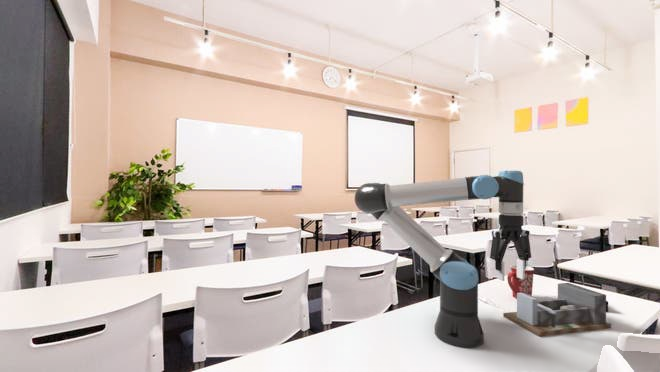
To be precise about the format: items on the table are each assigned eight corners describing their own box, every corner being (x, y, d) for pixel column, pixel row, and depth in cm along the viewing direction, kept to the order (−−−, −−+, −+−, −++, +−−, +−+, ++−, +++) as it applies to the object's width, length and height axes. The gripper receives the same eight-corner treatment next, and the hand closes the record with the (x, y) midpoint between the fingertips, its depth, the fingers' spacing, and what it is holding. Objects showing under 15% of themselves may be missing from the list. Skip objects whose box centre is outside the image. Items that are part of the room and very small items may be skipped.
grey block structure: (539, 336, 103) (539, 302, 103) (503, 316, 119) (503, 286, 119) (611, 328, 109) (611, 295, 109) (567, 310, 125) (567, 281, 125)
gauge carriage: (542, 330, 104) (542, 303, 104) (516, 317, 115) (517, 292, 115) (562, 328, 106) (562, 301, 106) (536, 315, 116) (536, 291, 116)
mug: (520, 293, 145) (520, 264, 145) (539, 299, 136) (539, 269, 136) (499, 296, 141) (499, 266, 141) (516, 303, 133) (517, 271, 133)
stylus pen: (474, 298, 138) (475, 294, 138) (479, 298, 139) (479, 294, 139) (502, 313, 124) (502, 308, 124) (507, 312, 125) (507, 308, 125)
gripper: (493, 215, 104) (493, 284, 104) (544, 214, 108) (544, 280, 108) (478, 213, 112) (478, 277, 112) (526, 212, 116) (526, 274, 116)
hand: (510, 278), depth 110 cm, fingers open, 8 cm apart
